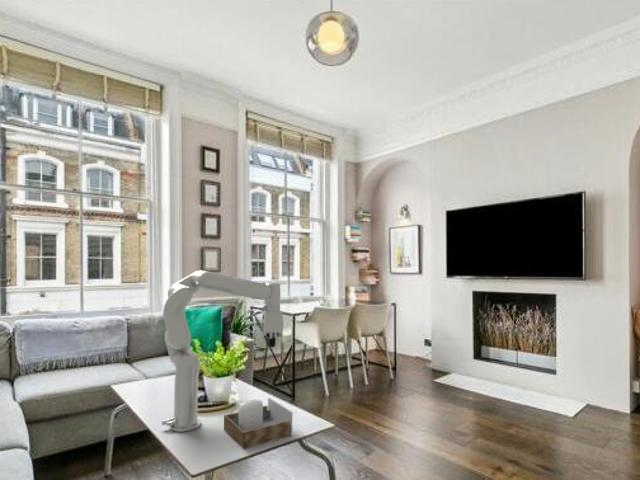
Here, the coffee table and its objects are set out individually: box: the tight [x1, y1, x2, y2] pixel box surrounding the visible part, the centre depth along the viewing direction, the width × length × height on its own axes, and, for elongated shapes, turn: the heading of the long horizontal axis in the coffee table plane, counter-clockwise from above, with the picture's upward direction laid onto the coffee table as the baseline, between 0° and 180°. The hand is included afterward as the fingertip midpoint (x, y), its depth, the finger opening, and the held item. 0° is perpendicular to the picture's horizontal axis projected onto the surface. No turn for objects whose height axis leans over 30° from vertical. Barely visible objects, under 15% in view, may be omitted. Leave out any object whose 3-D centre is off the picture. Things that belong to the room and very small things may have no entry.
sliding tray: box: [231, 397, 293, 435], centre depth 167 cm, size 20×20×9 cm
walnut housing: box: [223, 405, 290, 450], centre depth 166 cm, size 20×20×6 cm
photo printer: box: [238, 398, 264, 432], centre depth 165 cm, size 10×4×12 cm, turn 127°
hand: (271, 346), depth 194 cm, fingers closed
